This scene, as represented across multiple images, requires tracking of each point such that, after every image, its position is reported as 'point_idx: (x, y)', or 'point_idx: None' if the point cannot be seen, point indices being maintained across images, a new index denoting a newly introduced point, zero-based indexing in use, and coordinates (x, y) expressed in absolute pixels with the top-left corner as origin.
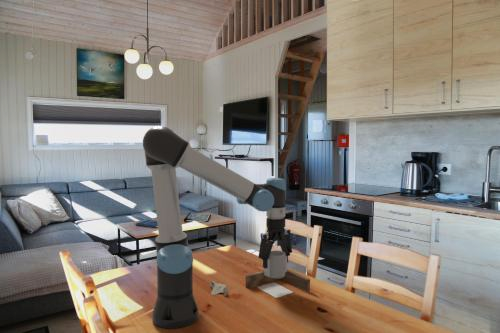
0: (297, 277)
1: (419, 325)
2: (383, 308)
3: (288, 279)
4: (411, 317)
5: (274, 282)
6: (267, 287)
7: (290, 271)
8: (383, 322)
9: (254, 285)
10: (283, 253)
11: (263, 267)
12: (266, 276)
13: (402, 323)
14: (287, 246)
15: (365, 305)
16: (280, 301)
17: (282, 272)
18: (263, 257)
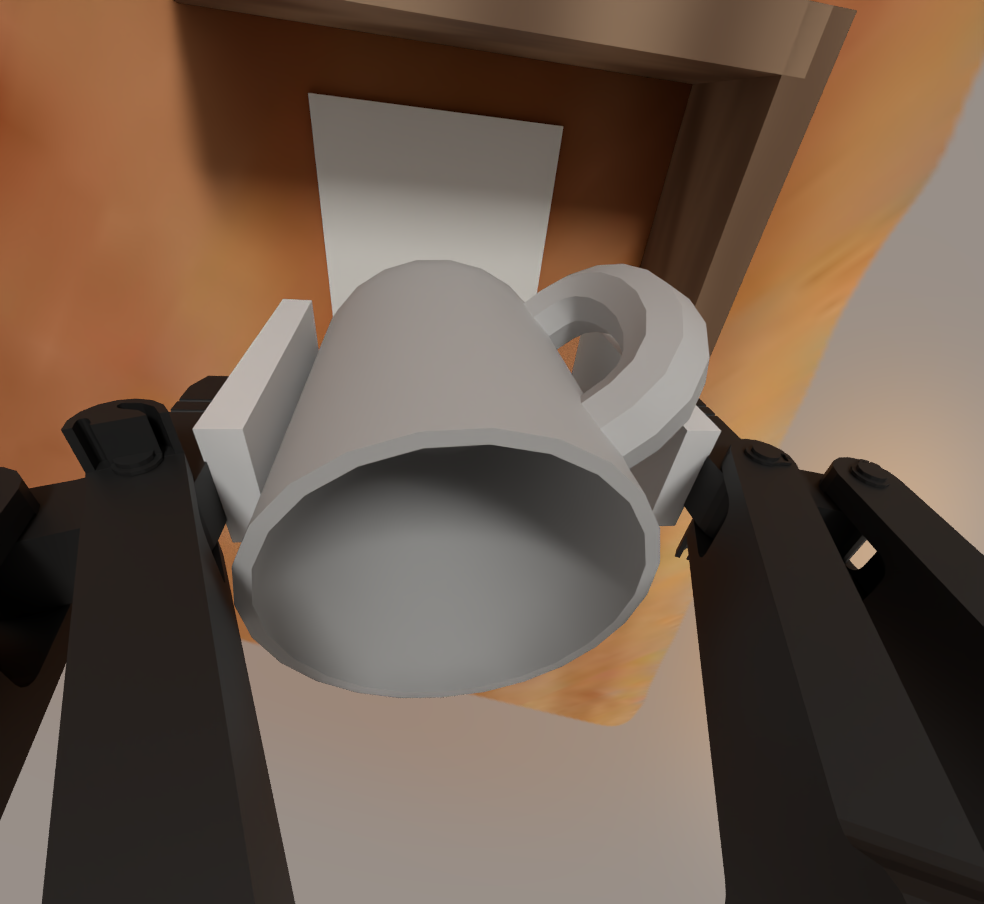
0: None
1: (606, 716)
2: (650, 653)
3: (663, 249)
4: (640, 696)
5: (562, 130)
6: (408, 190)
7: (721, 283)
8: (553, 691)
9: (294, 19)
10: (616, 582)
11: (211, 380)
12: (507, 41)
13: (586, 704)
14: (874, 612)
15: (634, 625)
16: None
17: (443, 492)
18: (34, 625)
